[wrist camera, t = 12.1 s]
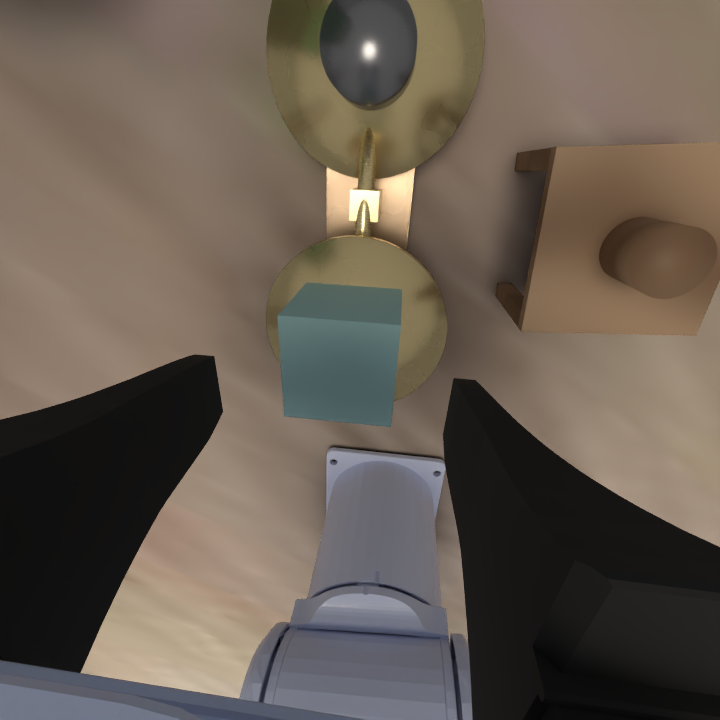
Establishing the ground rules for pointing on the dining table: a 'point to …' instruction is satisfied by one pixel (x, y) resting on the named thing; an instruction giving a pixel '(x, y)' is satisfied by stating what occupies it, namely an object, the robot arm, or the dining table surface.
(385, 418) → the block
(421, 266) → the balance
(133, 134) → the dining table surface
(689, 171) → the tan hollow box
